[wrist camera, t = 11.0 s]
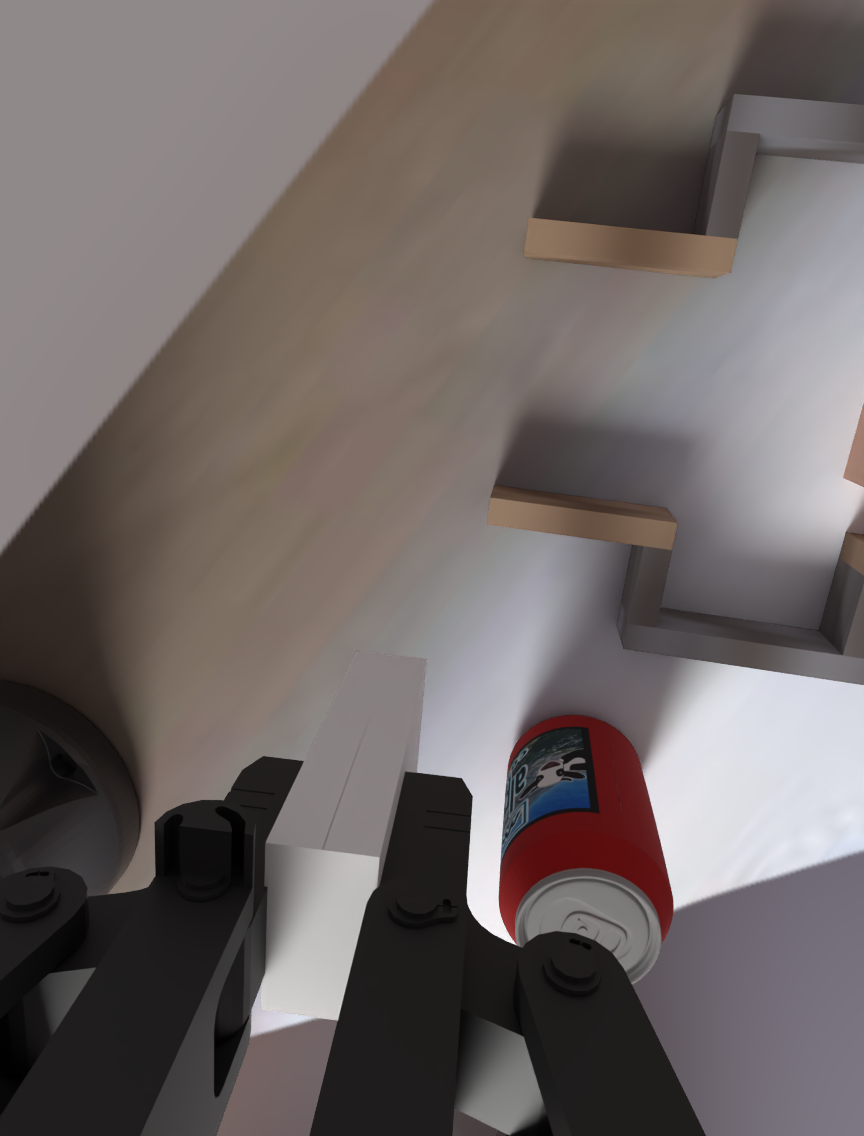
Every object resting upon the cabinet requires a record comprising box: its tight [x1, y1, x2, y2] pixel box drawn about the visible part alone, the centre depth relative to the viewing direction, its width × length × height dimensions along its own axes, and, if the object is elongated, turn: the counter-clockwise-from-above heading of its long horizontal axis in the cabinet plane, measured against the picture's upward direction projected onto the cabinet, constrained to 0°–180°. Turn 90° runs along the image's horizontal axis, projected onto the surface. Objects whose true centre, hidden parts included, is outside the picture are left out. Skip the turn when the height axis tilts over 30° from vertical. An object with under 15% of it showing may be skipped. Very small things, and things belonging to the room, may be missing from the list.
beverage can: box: [499, 715, 673, 984], centre depth 34 cm, size 7×7×12 cm
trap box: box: [487, 94, 864, 685], centre depth 32 cm, size 23×22×3 cm
